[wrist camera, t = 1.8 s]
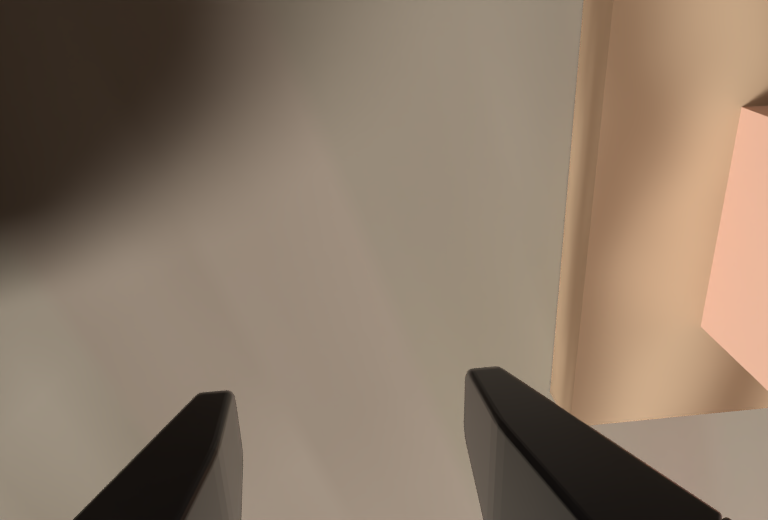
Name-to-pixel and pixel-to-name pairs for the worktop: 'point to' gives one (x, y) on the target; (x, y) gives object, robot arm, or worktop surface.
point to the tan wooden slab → (652, 207)
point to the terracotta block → (743, 252)
